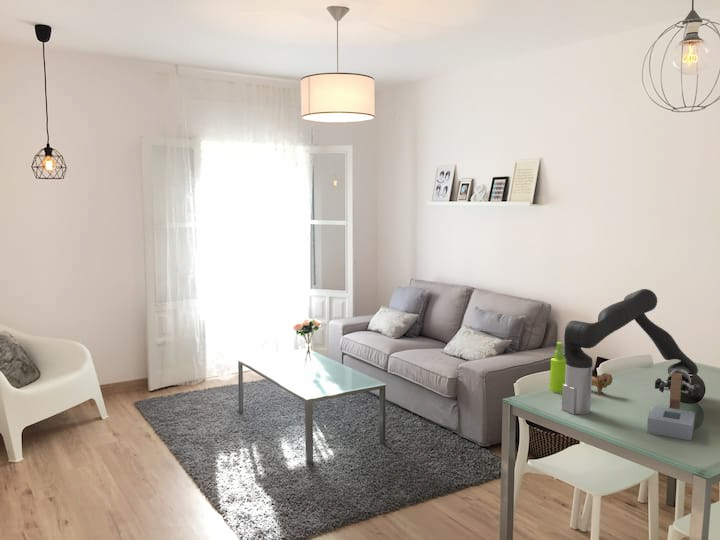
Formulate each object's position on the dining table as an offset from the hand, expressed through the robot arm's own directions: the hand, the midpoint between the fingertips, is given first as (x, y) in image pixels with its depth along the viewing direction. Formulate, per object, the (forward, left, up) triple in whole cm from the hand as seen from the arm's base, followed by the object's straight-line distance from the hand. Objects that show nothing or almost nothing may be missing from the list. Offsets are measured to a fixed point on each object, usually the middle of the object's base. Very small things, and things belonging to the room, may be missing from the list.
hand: (675, 391), depth 214 cm
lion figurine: (-3, +35, -10) cm, 36 cm away
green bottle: (-16, +42, -10) cm, 46 cm away
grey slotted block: (-10, -7, -10) cm, 15 cm away
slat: (0, 0, -10) cm, 10 cm away
